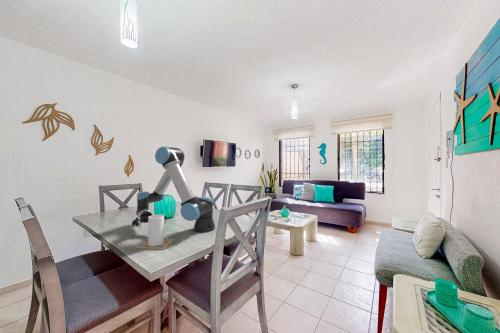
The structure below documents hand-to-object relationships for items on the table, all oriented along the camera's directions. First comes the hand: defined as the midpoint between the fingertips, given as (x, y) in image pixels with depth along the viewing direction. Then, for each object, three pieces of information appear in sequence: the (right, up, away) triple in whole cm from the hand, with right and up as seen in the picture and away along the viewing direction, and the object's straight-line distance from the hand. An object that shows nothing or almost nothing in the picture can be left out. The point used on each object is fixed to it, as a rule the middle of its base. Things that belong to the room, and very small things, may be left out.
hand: (153, 223), depth 120 cm
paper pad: (+4, -11, -5) cm, 12 cm away
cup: (+4, -10, -5) cm, 12 cm away
